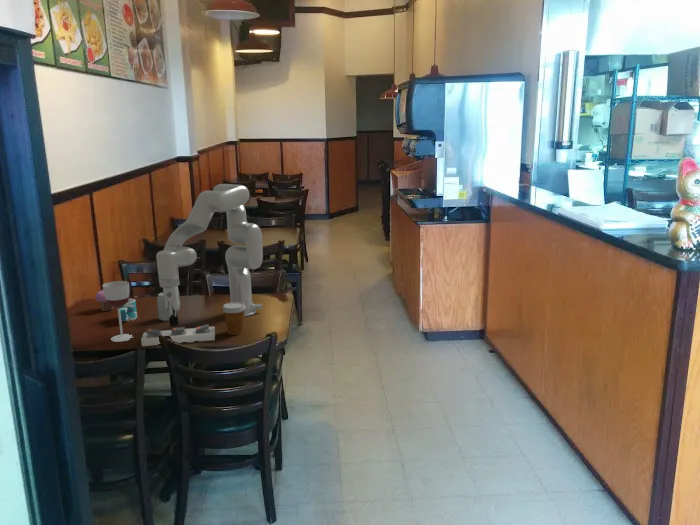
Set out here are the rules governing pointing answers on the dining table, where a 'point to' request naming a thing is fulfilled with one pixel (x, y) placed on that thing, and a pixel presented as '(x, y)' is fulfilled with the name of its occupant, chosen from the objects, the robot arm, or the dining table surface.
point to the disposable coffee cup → (234, 317)
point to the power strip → (180, 336)
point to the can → (162, 308)
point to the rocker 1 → (153, 332)
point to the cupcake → (103, 301)
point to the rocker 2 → (202, 328)
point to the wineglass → (117, 302)
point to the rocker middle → (178, 330)
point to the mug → (128, 311)
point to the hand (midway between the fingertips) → (174, 325)
